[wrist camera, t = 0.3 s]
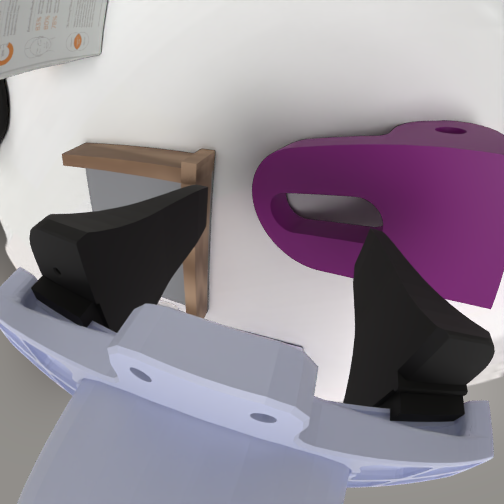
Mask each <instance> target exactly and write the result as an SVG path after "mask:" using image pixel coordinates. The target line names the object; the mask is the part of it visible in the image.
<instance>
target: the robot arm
mask: <svg viewBox="0 0 504 504" xmlns="http://www.w3.org/2000/svg"><path fill="white" fill-rule="evenodd" d="M207 203H208V187H207V186H202V185H197V184H195V185H190V186H186V187H183V188H180V189H177V190H174V191H171V192H168V193H166V194H163V195H160V196H157V197H154V198H150V199H147V200H144V201H141V202H138V203H134V204H130V205H126V206H122V207H118V208H112V209H106V210H101V211H94V212H86V213H74V214H50V215H48V216H47V217H45V218H44V219H43V220H41V221H40V222H39V223H38V224H36V225H35V226H34V227H33V228H32V229H31V231H30V245H31V248H32V252H33V254H34V257H35V259H36V262H37V264H38V266H39V269H40V271H41V273H42V275H43V276H42V277H41V278H40V279H39V280H37V279H36V278H35V276H34V275H32V274H31V273H29V272H28V271H26V270H25V269H23V268H21V267H19V268H18V269H17V270H16V271H15V272H14V273H13V274H12V275H11V276H10V277H9V278H8V279H7V280H6V281H5V282H4V283H3V284H2V285H1V287H0V329H1V330H2V332H3V333H4V335H5V336H6V337H7V339H8V340H9V341H10V342H11V344H12V345H13V346H14V347H16V348H17V349H18V350H19V351H20V352H21V353H22V354H23V355H24V356H25V357H26V358H28V359H29V360H30V361H31V362H32V363H33V364H34V365H35V366H36V367H38V368H39V369H40V370H41V371H42V372H44V373H45V374H46V375H47V376H48V377H49V378H50V379H52V380H53V381H54V382H55V383H57V384H58V385H59V386H60V387H62V388H63V389H64V390H66V391H67V392H68V393H69V394H71V395H72V398H71V399H70V401H69V403H68V404H67V406H66V408H65V410H64V411H63V413H62V415H61V417H60V418H59V420H58V422H57V423H56V425H55V427H54V429H53V431H52V432H51V434H50V436H49V438H48V440H47V442H46V444H45V445H44V447H43V449H42V451H41V453H40V455H39V457H38V459H37V461H36V463H35V465H34V467H33V469H32V471H31V474H30V475H29V477H28V479H27V482H26V484H25V486H24V488H23V490H22V493H21V495H20V498H19V500H18V502H17V504H343V502H344V498H345V493H346V488H348V487H377V486H389V485H399V484H408V483H415V482H421V481H428V480H434V479H439V478H445V477H449V476H452V475H455V474H457V473H460V472H463V471H465V470H468V469H470V468H472V467H475V466H477V465H479V464H482V463H484V462H486V461H488V460H490V459H492V458H493V457H494V451H493V450H494V448H493V433H492V423H491V414H490V407H489V401H487V400H479V401H478V400H477V401H468V402H466V403H463V402H464V401H463V396H464V395H466V394H467V392H468V391H467V385H466V384H468V383H469V382H470V381H471V380H472V379H474V378H475V377H476V376H477V375H478V374H479V373H481V372H482V371H483V370H484V369H485V368H486V367H487V366H488V364H489V363H490V361H491V360H492V358H493V355H494V352H495V351H494V345H493V342H492V339H491V336H490V333H489V332H488V331H487V330H485V329H484V328H482V327H481V326H479V325H477V324H476V323H474V322H473V321H471V320H470V319H469V318H467V317H466V316H465V315H463V314H462V313H461V312H459V311H458V310H457V309H456V308H454V307H453V306H452V305H451V304H449V303H448V302H447V301H446V300H445V299H444V298H443V297H442V296H440V295H439V294H438V293H437V292H436V291H435V290H434V289H433V288H432V287H431V286H430V285H429V284H428V283H427V282H426V281H425V280H424V279H423V278H422V277H421V275H420V274H419V273H418V272H417V271H416V270H415V269H414V267H413V266H412V265H411V264H410V263H409V261H408V260H407V259H406V258H405V257H404V255H403V254H402V253H401V252H400V250H399V249H398V248H397V247H396V246H395V244H394V243H393V242H392V241H391V240H390V238H389V237H388V236H387V235H386V234H385V233H384V232H382V231H379V230H376V229H372V228H370V230H369V232H368V235H367V237H366V240H365V242H364V244H363V247H362V249H361V251H360V254H359V256H358V258H357V260H356V263H355V265H354V279H353V290H354V309H355V339H354V348H353V356H352V363H351V369H350V375H349V380H348V384H347V389H346V394H345V398H344V402H343V403H339V402H333V401H327V400H323V399H321V398H318V397H315V396H314V392H315V386H316V379H317V372H318V366H317V365H316V364H315V363H314V362H313V361H312V360H311V358H310V357H309V356H308V355H307V354H306V353H305V352H304V351H303V348H302V347H298V346H294V345H290V344H286V343H283V342H281V341H278V340H274V339H270V338H267V337H263V336H259V335H256V334H252V333H249V332H245V331H242V330H238V329H235V328H232V327H228V326H225V325H222V324H219V323H216V322H212V321H209V320H206V319H203V318H200V317H197V316H194V315H191V314H188V313H185V312H182V311H180V310H177V309H174V308H171V307H167V306H161V305H157V304H158V302H159V300H160V298H161V296H162V294H163V292H164V290H165V289H166V287H167V285H168V283H169V281H170V280H171V278H172V277H173V275H174V274H175V273H176V271H177V270H178V268H179V267H180V266H181V264H182V263H183V262H184V260H185V259H186V258H187V256H188V255H189V254H190V252H191V251H192V249H193V248H194V247H195V245H196V244H197V243H198V241H199V239H200V237H201V235H202V233H203V232H204V230H205V228H206V224H207Z"/></svg>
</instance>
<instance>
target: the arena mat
mask: <svg viewBox="0 0 504 504" xmlns="http://www.w3.org/2000/svg"><path fill="white" fill-rule="evenodd" d="M86 174H87V181H88V188H89V194H90V199H91V205H92V210H93V212H94V211H101V210H106V209H112V208H118V207H122V206H126V205H130V204H134V203H138V202H141V201H144V200H147V199H150V198H154V197H157V196H160V195H163V194H166V193H168V192H171V191H174V190H177V189H180V188H181V183H177V182H172V181H166V180H161V179H155V178H149V177H143V176H137V175H131V174H124V173H117V172H111V171H104V170H96V169H89V168H86ZM213 174H214V170H213V171H212V178H211V195H210V215H209V239H208V275H207V311H208V290H209V252H210V227H211V207H212V189H213ZM161 297H163V298H166V299H169V300H172V301H175V302H178V303H181V304H184V305H186V303H185V290H184V274H183V263H182V264H181V266H180V267H179V268H178V270H177V271H176V273H175V274H174V275H173V277H172V278H171V280H170V281H169V283H168V285H167V287H166V289H165V290H164V292H163V294H162V296H161Z"/></svg>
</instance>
